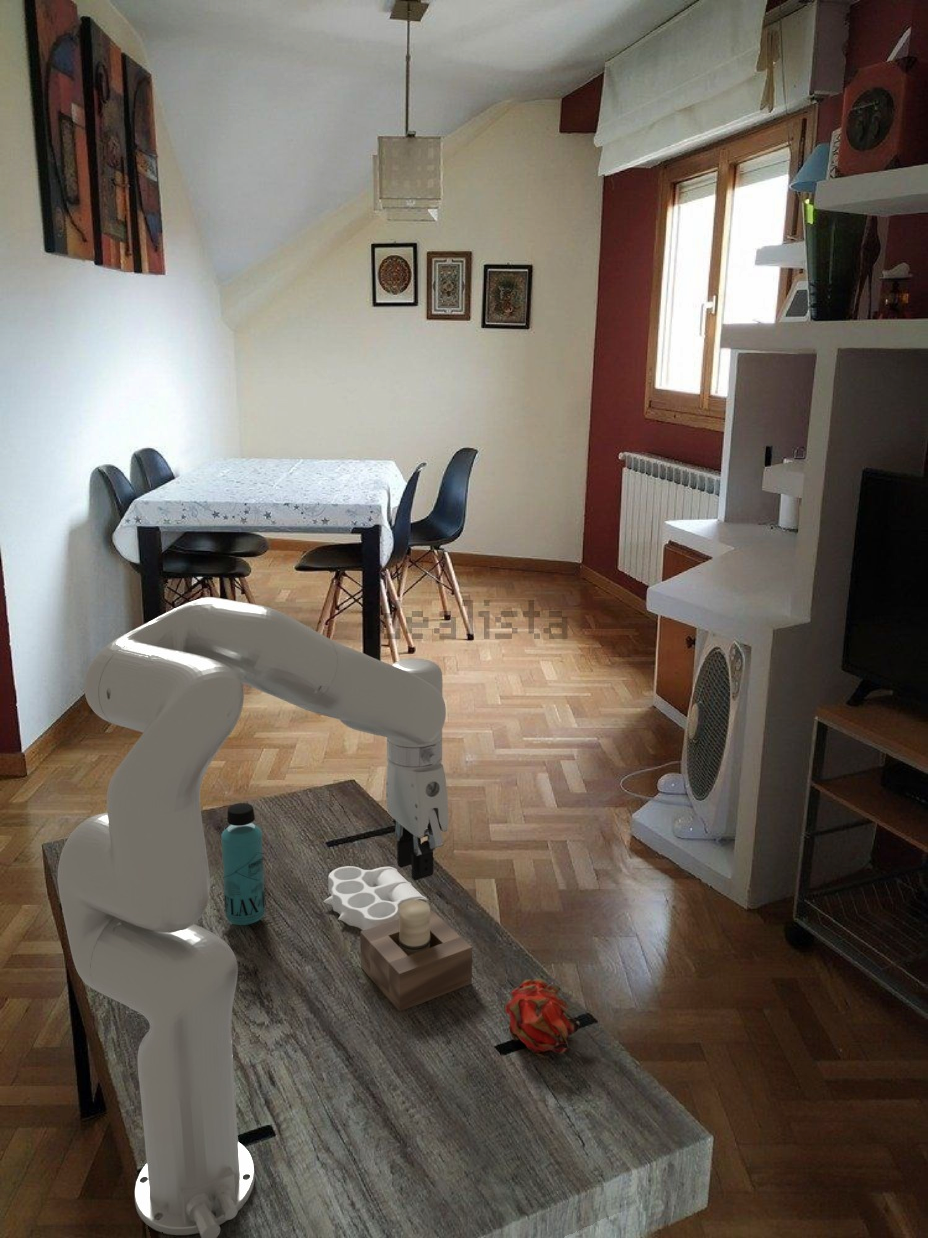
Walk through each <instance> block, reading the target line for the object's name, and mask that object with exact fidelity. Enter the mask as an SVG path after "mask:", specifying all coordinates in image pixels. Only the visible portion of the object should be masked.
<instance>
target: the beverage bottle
mask: <svg viewBox="0 0 928 1238" xmlns="http://www.w3.org/2000/svg"><path fill="white" fill-rule="evenodd" d="M254 811H255V810H254V806H253V805H252V804H251V803H245V802H238V803H235V804H232V805H230V806H229V807H228V809H227V817H226V820H227V821H226V822H227V824H229V825H228V826H227V827H226V829H224V830H223V831H222V832H221V835H220V839H221V851H222V871H223V873H222V876H223V877H222V879H223V880H222V883H223V890H222V891H223V902H224V903H223V910H224V911H223V912H224V916H225V918H226V919H227V921H228V922H229V923H231V924H233V925H237V926H245V925H246V926H247V925H251V924H254V923H256V922H258V921H260V920H262V919H263V917H264V916H265V914H266V906H267V905H266V904H267V902H266V897H267V896H266V891H265V876H264V873H265V872H264V869H265V866H264V865H265V863H264V853H263V831H262V829H261V828H260V826H258V825H256V824H255V823H253V822H254V821H255V812H254Z"/></svg>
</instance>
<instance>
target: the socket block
mask: <svg viewBox="0 0 928 1238" xmlns="http://www.w3.org/2000/svg"><path fill="white" fill-rule="evenodd" d="M359 933H360V934H359V936H360V937H359V938H360V939H359V940H360V968H361V970H363V972H364V974H366V975H367V976H368V977H369V978H370V980H371V981H372V982H373V983H374V984H375V985H376V987H377V988H378V989H380V991H381V992H382V993H383V994H384V995H385V996H386V998H387V1000H389V1002H390V1003H392V1005H393V1006H394V1007H395V1008H396V1009H397V1010H398V1011H399V1012H403V1011H405V1010H407V1009H411V1008H412V1007H416V1006H418V1005H420V1004H424V1003H425V1002H429V1001H431V1000H433V999H436V998H438V997H441V996H444V995H446V994H449V993H451V992H454V991H456V990H459V989H461V988H464V987H466V986H469V985H472V983H473V982H472V981H473V973H472V972H473V947H472V945H471V944H470V943H468V942H467V941H466V940H465V939H464V938H463V937H462V936H461V935H459V934H458V933H457V932H456V930H454V929H453V928H452V927H451V926H450V924H448V923H446V922H445V920H443V919H442V917H441V916H439V915H438V914H437V913H436V912H434V911H433V910H432V909H431V908H430V936H431V942H430V948H428V949H425V950H423V951H420V952H417V953H414V954H411V955H409V956H408V955H407V954H406V953H405V952H404V951H403V950H402V949H401V948H400V947H399V919H397V920H394V921H391V922H388V923H385V924H382V925H379V926H376V927H373V928H370V929H367V930H364V931H363V930H361V931H359Z"/></svg>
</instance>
